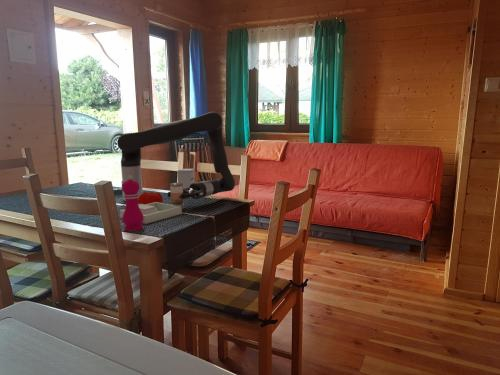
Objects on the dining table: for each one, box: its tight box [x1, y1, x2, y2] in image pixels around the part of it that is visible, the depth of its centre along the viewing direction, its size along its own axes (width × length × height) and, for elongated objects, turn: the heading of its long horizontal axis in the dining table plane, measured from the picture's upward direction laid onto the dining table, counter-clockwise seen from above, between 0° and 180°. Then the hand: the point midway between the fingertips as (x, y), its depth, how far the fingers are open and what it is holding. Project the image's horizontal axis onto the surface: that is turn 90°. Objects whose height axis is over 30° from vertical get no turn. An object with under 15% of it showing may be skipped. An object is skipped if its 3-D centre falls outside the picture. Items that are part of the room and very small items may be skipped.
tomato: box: [138, 191, 164, 205], centre depth 170 cm, size 10×11×6 cm
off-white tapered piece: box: [138, 204, 157, 215], centre depth 146 cm, size 10×6×5 cm, turn 53°
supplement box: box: [177, 168, 196, 188], centre depth 203 cm, size 7×7×13 cm
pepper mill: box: [121, 176, 144, 232], centre depth 131 cm, size 7×7×20 cm
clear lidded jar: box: [169, 182, 185, 210], centre depth 160 cm, size 6×6×12 cm
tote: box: [119, 202, 183, 225], centre depth 150 cm, size 16×18×4 cm
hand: (174, 195), depth 159 cm, fingers open, 8 cm apart
